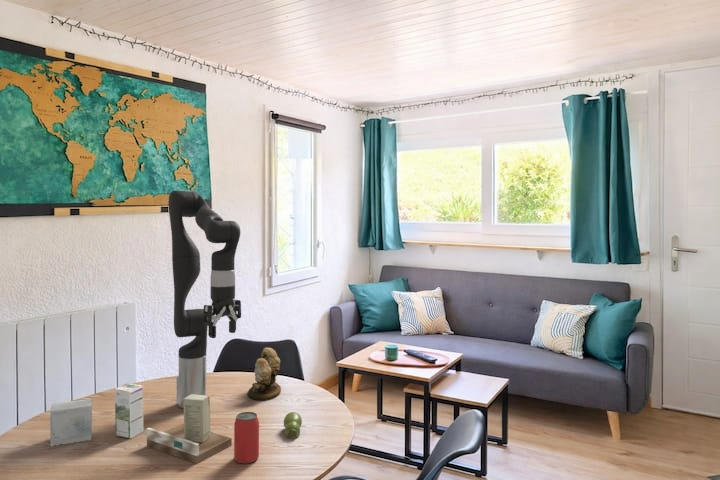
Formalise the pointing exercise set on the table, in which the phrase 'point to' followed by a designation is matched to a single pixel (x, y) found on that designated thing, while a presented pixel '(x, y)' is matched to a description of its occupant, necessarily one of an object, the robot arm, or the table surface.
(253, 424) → the beer can
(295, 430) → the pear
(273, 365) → the brown lumpy upright piece
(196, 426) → the skincare box
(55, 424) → the skincare box
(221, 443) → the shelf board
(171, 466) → the table surface
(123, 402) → the syrup box
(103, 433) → the table surface
